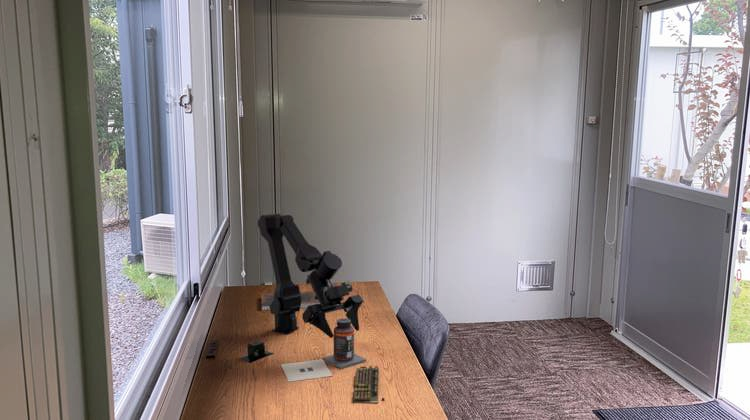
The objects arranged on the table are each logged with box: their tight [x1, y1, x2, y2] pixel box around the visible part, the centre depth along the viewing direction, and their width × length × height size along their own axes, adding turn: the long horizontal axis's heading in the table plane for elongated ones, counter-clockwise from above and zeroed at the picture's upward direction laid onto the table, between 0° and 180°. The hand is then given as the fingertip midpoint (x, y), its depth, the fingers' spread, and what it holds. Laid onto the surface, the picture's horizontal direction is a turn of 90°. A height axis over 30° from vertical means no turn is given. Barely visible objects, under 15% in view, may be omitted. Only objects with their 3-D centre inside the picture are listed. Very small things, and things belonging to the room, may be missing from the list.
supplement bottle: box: [333, 318, 355, 361], centre depth 176 cm, size 6×6×11 cm
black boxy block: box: [237, 339, 275, 364], centre depth 179 cm, size 12×7×5 cm, turn 141°
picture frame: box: [260, 290, 320, 311], centre depth 233 cm, size 16×2×22 cm
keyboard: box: [352, 364, 385, 404], centre depth 160 cm, size 22×9×2 cm, turn 179°
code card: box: [281, 358, 333, 383], centre depth 169 cm, size 12×12×1 cm
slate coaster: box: [322, 353, 367, 370], centre depth 176 cm, size 9×9×1 cm
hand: (345, 333), depth 175 cm, fingers open, 9 cm apart
